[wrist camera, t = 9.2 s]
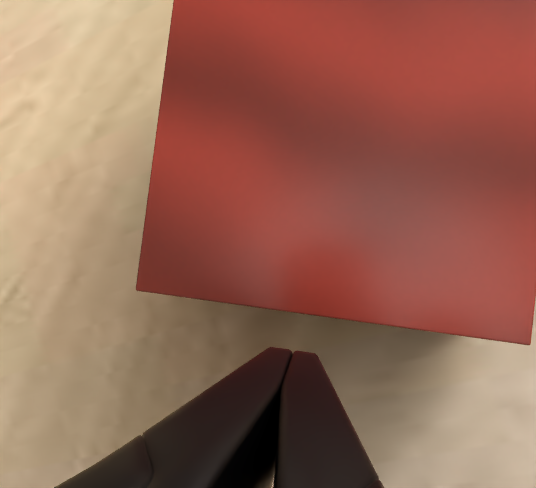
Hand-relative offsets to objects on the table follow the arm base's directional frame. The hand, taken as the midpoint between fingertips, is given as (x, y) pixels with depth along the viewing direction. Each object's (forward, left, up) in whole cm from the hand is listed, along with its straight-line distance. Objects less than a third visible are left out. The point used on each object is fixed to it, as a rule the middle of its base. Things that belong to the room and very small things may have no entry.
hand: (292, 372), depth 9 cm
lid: (+4, +5, -9) cm, 12 cm away
